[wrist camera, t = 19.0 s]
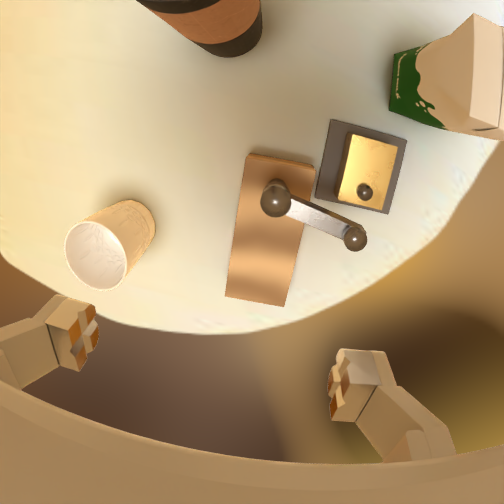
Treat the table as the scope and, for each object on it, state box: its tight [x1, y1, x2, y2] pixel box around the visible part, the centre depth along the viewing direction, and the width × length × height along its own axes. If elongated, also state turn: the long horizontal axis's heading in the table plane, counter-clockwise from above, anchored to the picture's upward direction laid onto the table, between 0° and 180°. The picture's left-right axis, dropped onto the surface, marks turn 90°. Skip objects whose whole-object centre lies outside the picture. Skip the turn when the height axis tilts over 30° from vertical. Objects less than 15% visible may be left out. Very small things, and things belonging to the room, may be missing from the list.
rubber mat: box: [315, 120, 407, 214], centre depth 34 cm, size 9×9×1 cm
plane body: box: [225, 153, 316, 307], centre depth 35 cm, size 16×7×7 cm, turn 171°
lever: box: [260, 181, 367, 251], centre depth 28 cm, size 10×3×4 cm, turn 68°
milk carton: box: [389, 13, 504, 141], centre depth 21 cm, size 9×9×20 cm
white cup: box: [64, 200, 155, 291], centre depth 35 cm, size 8×8×10 cm
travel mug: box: [136, 0, 262, 57], centre depth 20 cm, size 8×8×20 cm
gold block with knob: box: [333, 133, 398, 210], centre depth 32 cm, size 7×5×4 cm
